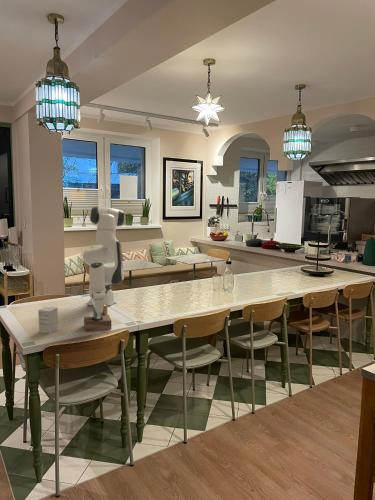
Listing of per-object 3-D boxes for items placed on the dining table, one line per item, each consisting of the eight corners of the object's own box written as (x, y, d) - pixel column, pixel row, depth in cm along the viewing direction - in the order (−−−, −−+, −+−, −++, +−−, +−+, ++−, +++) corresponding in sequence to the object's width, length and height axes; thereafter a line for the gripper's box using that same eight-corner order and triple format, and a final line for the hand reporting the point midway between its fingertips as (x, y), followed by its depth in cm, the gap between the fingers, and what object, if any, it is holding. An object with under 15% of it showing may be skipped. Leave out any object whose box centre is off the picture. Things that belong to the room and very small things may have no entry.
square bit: (93, 324, 216) (93, 307, 215) (100, 324, 217) (100, 307, 216) (94, 327, 212) (94, 309, 211) (101, 326, 214) (101, 309, 212)
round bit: (100, 320, 227) (100, 304, 226) (107, 319, 228) (106, 303, 227) (101, 322, 223) (100, 305, 222) (108, 321, 225) (107, 305, 223)
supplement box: (47, 327, 212) (46, 306, 211) (58, 329, 210) (58, 307, 208) (38, 332, 205) (37, 309, 204) (50, 333, 203) (49, 311, 201)
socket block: (84, 325, 217) (83, 317, 216) (108, 323, 222) (108, 315, 221) (85, 331, 208) (85, 322, 207) (111, 328, 213) (111, 320, 212)
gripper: (89, 288, 221) (89, 311, 222) (93, 297, 202) (93, 322, 203) (100, 287, 223) (100, 310, 225) (105, 296, 204) (105, 321, 206)
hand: (97, 316), depth 214 cm, fingers open, 8 cm apart
